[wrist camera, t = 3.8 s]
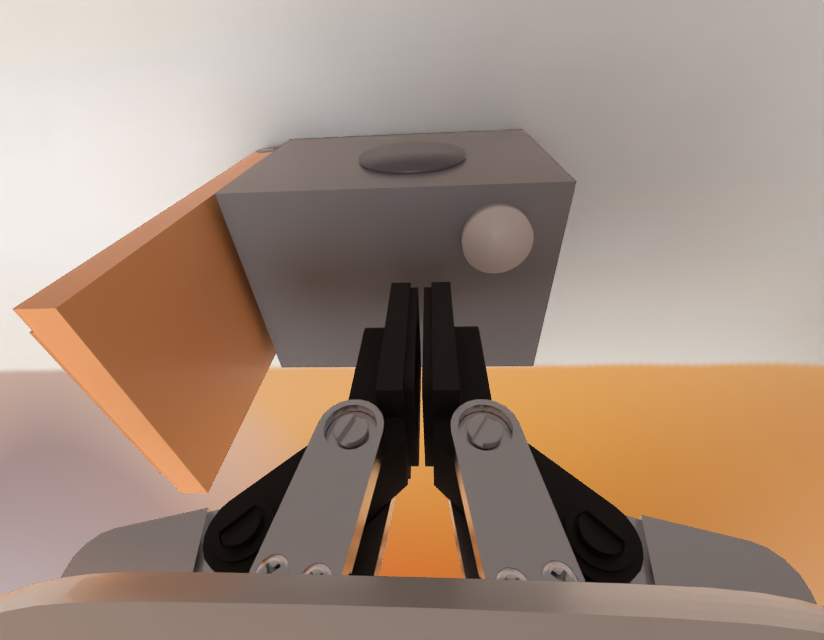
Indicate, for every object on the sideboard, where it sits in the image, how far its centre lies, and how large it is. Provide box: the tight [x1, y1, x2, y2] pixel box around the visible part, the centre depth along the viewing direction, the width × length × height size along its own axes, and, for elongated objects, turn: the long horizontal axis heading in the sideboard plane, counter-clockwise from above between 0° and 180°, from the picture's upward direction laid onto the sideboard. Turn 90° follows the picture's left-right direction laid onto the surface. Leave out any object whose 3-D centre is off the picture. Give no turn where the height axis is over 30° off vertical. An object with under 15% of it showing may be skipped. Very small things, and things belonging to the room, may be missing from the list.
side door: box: [13, 148, 276, 493], centre depth 13 cm, size 1×7×12 cm, turn 2°
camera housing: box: [215, 129, 576, 367], centre depth 14 cm, size 10×7×8 cm
